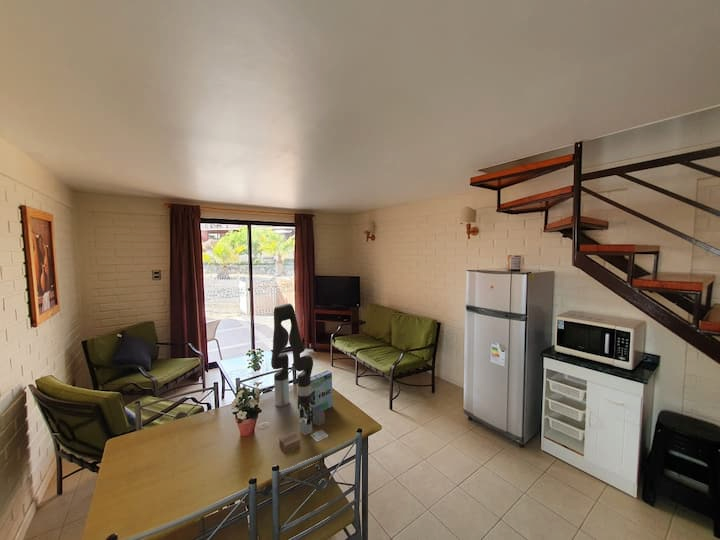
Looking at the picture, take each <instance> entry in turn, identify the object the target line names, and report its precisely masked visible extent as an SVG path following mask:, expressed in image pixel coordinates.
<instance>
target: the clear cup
mask: <svg viewBox="0 0 720 540" xmlns="http://www.w3.org/2000/svg"><path fill="white" fill-rule="evenodd" d="M299 432H300V433H301V435H303V437H304V436H307V435H310V434H312V433H313V421H311V424H309V425H307V418H306V417H305V418H304V419H301V420H299Z"/></svg>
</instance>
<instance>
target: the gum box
mask: <svg viewBox="0 0 720 540" xmlns="http://www.w3.org/2000/svg"><path fill="white" fill-rule="evenodd" d="M310 379H311V397H312V399H311V401H310V402H309V404H310V407H311V406H312V407H313V413H314V412H316V411H317V410H321V411H323V412H325V411H326V410H328V409H330V408H332V407H333V405H334V404H333V372H332V371H330V370H326V371H323V372H320V373H318V374H315V375H312V376H310ZM306 412H308V411H306ZM304 418H305V419H306V418H307V417H306V415H305V413H304Z"/></svg>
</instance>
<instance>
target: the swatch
mask: <svg viewBox="0 0 720 540" xmlns="http://www.w3.org/2000/svg"><path fill="white" fill-rule="evenodd" d="M310 437H311V438H313V440H314V441H315V442H317V443H318V442H321V440H324V439H327V438H328V437H329V435H328V434H327V433H326V432H325V430H323V429H320V430H318V431H316V432H314V433H313V432H312V433H310Z"/></svg>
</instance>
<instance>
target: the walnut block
mask: <svg viewBox="0 0 720 540" xmlns="http://www.w3.org/2000/svg"><path fill="white" fill-rule="evenodd" d="M278 443H279V446H280V448H281V449H282V451H283V452H284V453H286V454H288V453H289V452H292V451H293V450H296V449H297V448H300V447H301V440H300V438H299V437H298V435H297V434H296V433H295V432H294V431H293V432H290V433H288V434H285V435H283V436H280V437H279V438H278Z"/></svg>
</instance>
